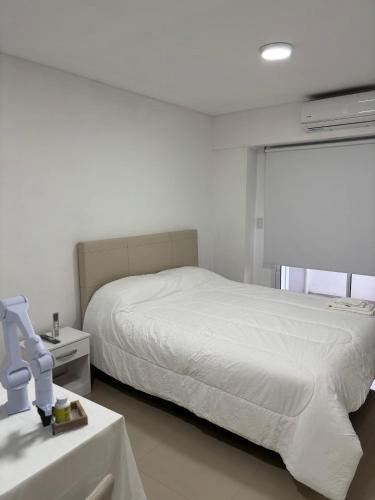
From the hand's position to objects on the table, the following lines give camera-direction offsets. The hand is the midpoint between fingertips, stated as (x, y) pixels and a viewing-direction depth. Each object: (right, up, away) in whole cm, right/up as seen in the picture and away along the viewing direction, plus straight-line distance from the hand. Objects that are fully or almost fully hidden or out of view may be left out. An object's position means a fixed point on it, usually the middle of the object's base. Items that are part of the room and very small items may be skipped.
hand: (45, 423), depth 134 cm
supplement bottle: (+5, -1, +4) cm, 6 cm away
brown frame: (+5, -1, +4) cm, 7 cm away
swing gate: (+2, 0, +2) cm, 2 cm away
